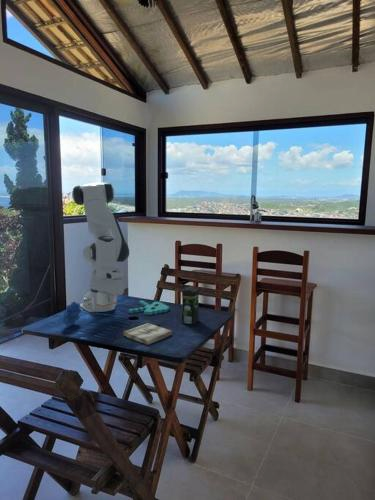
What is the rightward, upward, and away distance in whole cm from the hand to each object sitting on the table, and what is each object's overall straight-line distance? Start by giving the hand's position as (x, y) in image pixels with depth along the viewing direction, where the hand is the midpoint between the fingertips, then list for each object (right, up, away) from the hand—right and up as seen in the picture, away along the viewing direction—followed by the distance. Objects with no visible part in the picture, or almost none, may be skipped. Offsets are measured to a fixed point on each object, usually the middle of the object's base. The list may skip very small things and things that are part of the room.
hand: (106, 301), depth 166 cm
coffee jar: (+39, -14, +22) cm, 47 cm away
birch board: (+19, -16, +2) cm, 25 cm away
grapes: (-21, -14, +13) cm, 28 cm away
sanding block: (0, -1, 0) cm, 1 cm away
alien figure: (+16, -11, +42) cm, 47 cm away
